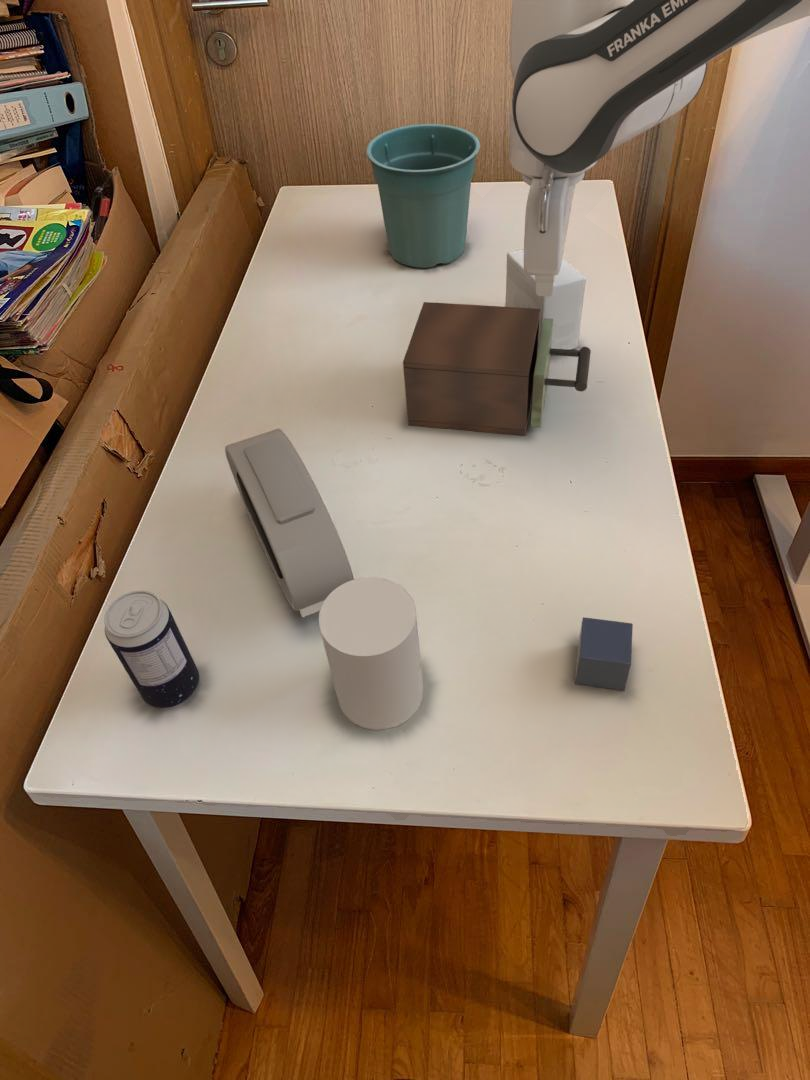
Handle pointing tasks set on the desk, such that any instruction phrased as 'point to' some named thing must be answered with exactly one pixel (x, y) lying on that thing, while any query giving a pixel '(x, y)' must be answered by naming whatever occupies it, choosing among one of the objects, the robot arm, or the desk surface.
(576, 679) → the block
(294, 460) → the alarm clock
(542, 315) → the cosmetics box
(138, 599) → the beverage can
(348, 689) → the white solid cylinder
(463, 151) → the flower pot
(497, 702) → the desk surface
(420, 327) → the cabinet
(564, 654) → the desk surface
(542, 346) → the drawer
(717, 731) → the desk surface
